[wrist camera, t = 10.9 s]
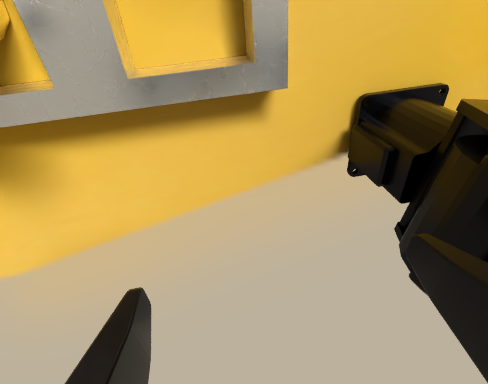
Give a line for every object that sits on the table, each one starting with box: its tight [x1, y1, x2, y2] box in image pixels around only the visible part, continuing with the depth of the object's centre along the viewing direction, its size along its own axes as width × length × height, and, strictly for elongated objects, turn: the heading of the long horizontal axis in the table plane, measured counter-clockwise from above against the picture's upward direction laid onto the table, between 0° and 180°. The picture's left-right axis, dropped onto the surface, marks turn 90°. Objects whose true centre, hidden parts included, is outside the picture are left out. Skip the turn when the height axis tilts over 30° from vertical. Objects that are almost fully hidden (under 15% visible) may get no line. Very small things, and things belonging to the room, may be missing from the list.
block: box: [0, 0, 288, 128], centre depth 12 cm, size 20×10×2 cm, turn 95°
